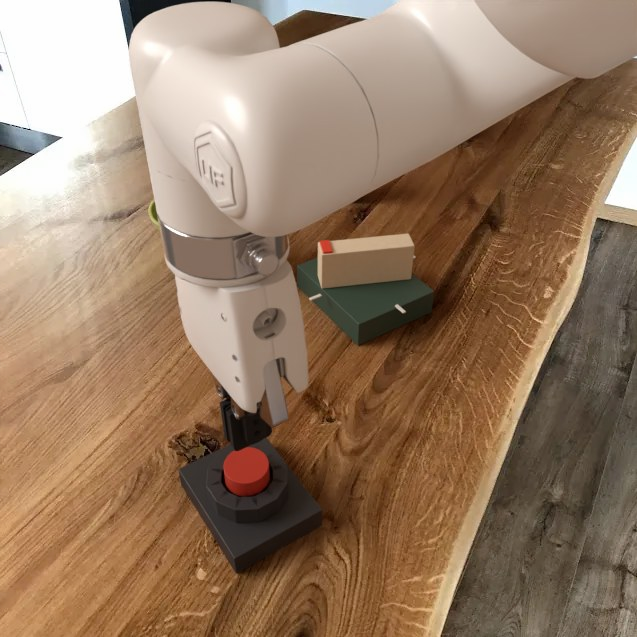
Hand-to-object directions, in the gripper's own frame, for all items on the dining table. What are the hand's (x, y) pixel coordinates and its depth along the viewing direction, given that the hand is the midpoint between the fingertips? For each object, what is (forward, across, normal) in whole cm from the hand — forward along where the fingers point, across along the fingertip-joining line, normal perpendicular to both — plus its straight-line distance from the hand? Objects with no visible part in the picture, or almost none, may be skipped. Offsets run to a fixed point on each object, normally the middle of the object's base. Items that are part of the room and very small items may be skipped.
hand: (248, 436), depth 55 cm
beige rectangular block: (+6, +18, -24) cm, 30 cm away
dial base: (+9, +18, -24) cm, 31 cm away
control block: (+9, +1, 0) cm, 9 cm away
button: (+6, +1, 0) cm, 6 cm away
